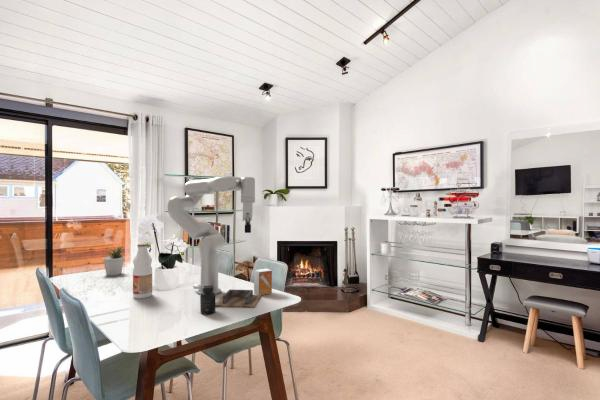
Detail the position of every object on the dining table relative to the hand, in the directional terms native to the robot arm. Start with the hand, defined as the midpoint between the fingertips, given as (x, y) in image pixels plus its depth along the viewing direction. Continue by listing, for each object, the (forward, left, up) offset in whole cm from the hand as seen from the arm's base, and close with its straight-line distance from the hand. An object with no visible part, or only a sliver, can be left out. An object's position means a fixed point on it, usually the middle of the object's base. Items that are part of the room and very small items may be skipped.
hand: (247, 231), depth 185 cm
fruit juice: (-55, -6, -35) cm, 66 cm away
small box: (+8, +4, -35) cm, 36 cm away
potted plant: (-100, +41, -35) cm, 114 cm away
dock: (-2, -11, -34) cm, 36 cm away
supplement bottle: (-12, -28, -35) cm, 46 cm away
